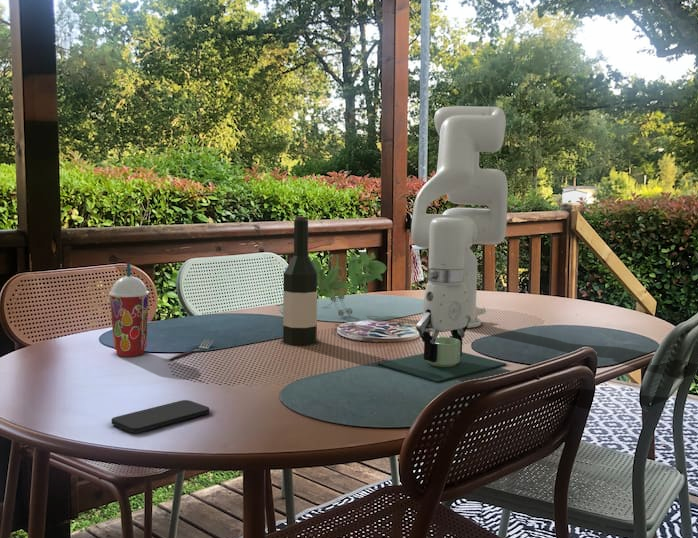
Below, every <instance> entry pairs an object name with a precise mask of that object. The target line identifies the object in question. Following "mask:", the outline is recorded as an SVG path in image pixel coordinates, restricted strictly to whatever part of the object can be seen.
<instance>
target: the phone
mask: <svg viewBox="0 0 698 538" xmlns="http://www.w3.org/2000/svg"><path fill="white" fill-rule="evenodd" d="M209 413H210V407H209V406H206V405H203V404H201V403H198V402H195V401H192V400H188V399H182V400H177V401H174V402H169V403H166V404H162V405H158V406H154V407H153V406H152V407H149V408H146V409H141V410H137V411H134V412H133V411H132V412H129V413H126V414H121V415H117V416H114V417H112V418H111V425H113V426H116V427H118V428H120V429H122V430H125V431H127V432H129V433H141V432H145V431H149V430H153V429H156V428H161V427H163V426H168V425H171V424H174V423H179V422H182V421H185V420H189V419H193V418H198V417H201V416H204V415H207V414H209Z"/></svg>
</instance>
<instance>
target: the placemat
mask: <svg viewBox="0 0 698 538" xmlns="http://www.w3.org/2000/svg"><path fill="white" fill-rule="evenodd" d="M377 365H378V366H380V367H384V368H386V369H387V368H388V369H391V370H394V371H397V372H401V373H404V374H408V375H410V376H414V377H417V378H421V379H424V380H428V381H430V382H434V383H441V382H446V381H448V380H452V379H453V380H454V379H457V378H460V377H464V376H468V375H472V374H477V373H480V372H484V371H488V370H492V369H496V368H500V367H504V366H506V365H507V362H502V361H499V360H494V359H491V358H486V357H483V356H479V355H475V354H470V353H467V352H463V351H462V356H460V362H459V363H457V364H456V365H455V366H450V367H440V366H434V365H431V364H429V362H428V361H426V360H424V353H420V354H414V355H410V356H406V357H401V358H396V359H391V360H387V361H382V362H378V364H377Z"/></svg>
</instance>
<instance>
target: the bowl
mask: <svg viewBox="0 0 698 538" xmlns="http://www.w3.org/2000/svg"><path fill="white" fill-rule="evenodd" d="M435 343H436V344H437V361H436V362H430V361H428V362H429V364H431V365H434V366H440V367H450V366H455V365H456V364H457V363H459V362H460V346H461V342H460V340H458V339H455V338H450V336H437V339H436V341H435ZM426 361H427V360H426Z"/></svg>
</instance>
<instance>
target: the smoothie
mask: <svg viewBox="0 0 698 538" xmlns="http://www.w3.org/2000/svg"><path fill="white" fill-rule="evenodd" d="M149 294H150V291H149V290H148V289H147V286H146V284H145V283H144V282H143V281H142V280H141V279H140V278H139V277H137V276H133V275H131V263H126V275H125V276H122V277H120V278H118V279H117V280H116V281H115V282H114V284H113V285H112V287H111V289H110V291H109V292H108V295H109V307H110V316H111V327H112V337H113V338H112V339H113V349H114V350H115V352H116V355H117V356H120V357H137V356H141V355H143V354H144V353H145V349H146V348H147V340H148V339H147V338H148V318H149Z"/></svg>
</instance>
